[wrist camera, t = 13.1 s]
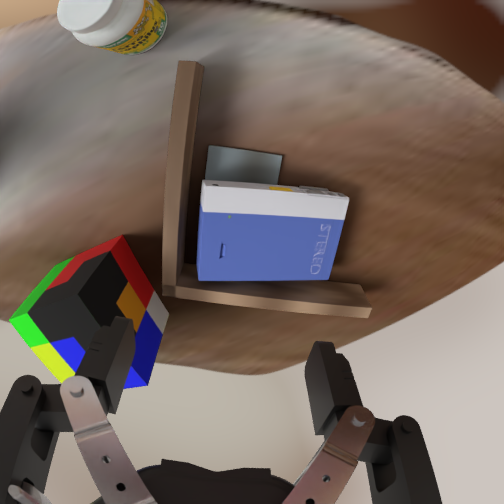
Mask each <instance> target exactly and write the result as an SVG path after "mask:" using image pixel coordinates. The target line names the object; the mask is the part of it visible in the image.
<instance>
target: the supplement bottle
mask: <svg viewBox="0 0 504 504" xmlns="http://www.w3.org/2000/svg"><path fill="white" fill-rule="evenodd" d="M57 16H58V20H59V22H60V24H61V25H62V26H63V27H64V28H65V29H67V30H70V31H72V33H73V35H74V36H75V38H76V39H77V40H78V41H80V42H81V43H83V44H86V45H89V46H93V47H97V48H101V49H106V50H110V51H113V52H117V53H121V54H126V55H136V54H141V53H144V52H146V51H148V50H149V49H151V48H152V47H154V46H155V45H156V44H157V43H158V42H159V41H160V39H161V38H162V36H163V34H164V32H165V29H166V26H167V14H166V11H165V9H164V8H163V6H162V5H161V4H160V3H159V2H157V1H156V0H60V1H59V5H58V9H57Z"/></svg>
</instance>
